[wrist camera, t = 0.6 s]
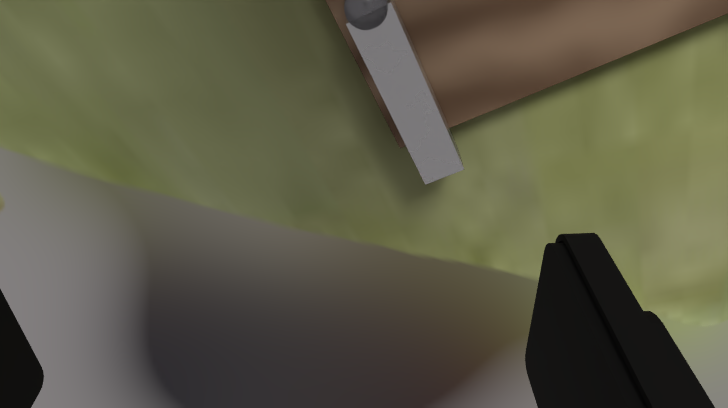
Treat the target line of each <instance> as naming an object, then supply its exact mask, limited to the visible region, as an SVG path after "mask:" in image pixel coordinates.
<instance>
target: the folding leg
mask: <svg viewBox="0 0 728 408" xmlns="http://www.w3.org/2000/svg"><path fill="white" fill-rule="evenodd" d="M344 11H345V16H346V26H347V28H348V30H349V32H350V34H351V36H352V38H353V40H354V42H355V44H356V46H357V48H358V50H359V52H360V54H361V56H362V58H363V60H364V62H365V64H366V66H367V68H368V70H369V72H370V74H371V76H372V78H373V80H374V82H375V84H376V86H377V88H378V90H379V92H380V94H381V96H382V98H383V100H384V102H385V104H386V106H387V108H388V110H389V112H390V114H391V116H392V118H393V120H394V122H395V124H396V126H397V129H398V131H399V133H400V135H401V137H402V139H403V141H404V143H405V145H406V147H407V149H408V151H409V153H410V155H411V157H412V159H413V161H414V163H415V165H416V167H417V169H418V171H419V173H420V175H421V177H422V179H423V181H424V183H425V185H426V184H428V183H431V182H433V181H436V180H438V179H441V178H444V177H446V176H449V175H451V174H454V173H456V172H459V171H461V170H464V167H463V163H462V160H461V157H460V153H459V150H458V147H457V145H456V142H455V140H454V138H453V136H452V133H451V131H450V129H449V126H448V124H447V122H446V119H445V117H444V115H443V113H442V110H441V108H440V106H439V103H438V101H437V99H436V96H435V94H434V92H433V90H432V87H431V85H430V83H429V80H428V78H427V76H426V73H425V71H424V69H423V66H422V64H421V62H420V60H419V57H418V55H417V53H416V50H415V48H414V46H413V43H412V41H411V39H410V37H409V34H408V32H407V30H406V27H405V25H404V23H403V20H402V18H401V16H400V14H399V11H398V9H397V7H396V4H395V2H394V0H345V3H344Z"/></svg>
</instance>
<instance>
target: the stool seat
mask: <svg viewBox="0 0 728 408" xmlns="http://www.w3.org/2000/svg"><path fill="white" fill-rule="evenodd" d="M326 2H327V4H328V6H329V8H330V10H331V12H332V14H333V16H334V18H335V20H336V22H337V24H338V26H339V28H340V30H341V32H342V34H343V36H344V38H345V40H346V42H347V44H348V46H349V48H350V50H351V52H352V54H353V56H354V58H355V60H356V62H357V64H358V66H359V68H360V70H361V72H362V74H363V76H364V78H365V80H366V82H367V84H368V86H369V88H370V90H371V92H372V94H373V96H374V98H375V100H376V102H377V104H378V106H379V108H380V110H381V112H382V113H383V115H384V117H385V119H386V121H387V123H388V125H389V127H390V129H391V131H392V133H393V135H394V137H395V139H396V141H397V143H398V145H399V147H400V148H402V147H405V146H406V145H405V143H404V141H403V139H402V137H401V135H400V133H399V131H398V129H397V126H396V124H395V122H394V120H393V118H392V116H391V114H390V112H389V110H388V108H387V106H386V104H385V102H384V100H383V98H382V96H381V94H380V92H379V90H378V88H377V86H376V84H375V82H374V80H373V78H372V76H371V74H370V72H369V70H368V68H367V66H366V64H365V62H364V60H363V58H362V56H361V54H360V52H359V50H358V48H357V46H356V44H355V42H354V40H353V38H352V36H351V34H350V32H349V30H348V28H347V26H346V16H345V11H344V3H345V0H326ZM394 2H395V4H396V7H397V9H398V11H399V14H400V16H401V18H402V20H403V23H404V25H405V27H406V30H407V32H408V34H409V37H410V39H411V41H412V43H413V46H414V48H415V50H416V53H417V55H418V57H419V60H420V62H421V64H422V66H423V69H424V71H425V73H426V76H427V78H428V80H429V83H430V85H431V87H432V90H433V92H434V94H435V96H436V99H437V101H438V103H439V106H440V108H441V110H442V113H443V115H444V117H445V119H446V122H447V124H448V126H449V128H451V127H453V126H456V125H458V124H460V123H463V122H465V121H468V120H470V119H473V118H475V117H477V116H480V115H482V114H485V113H487V112H490V111H492V110H494V109H497V108H499V107H502V106H504V105H507V104H509V103H511V102H514V101H516V100H519V99H521V98H524V97H526V96H528V95H531V94H533V93H536V92H538V91H541V90H543V89H545V88H548V87H550V86H553V85H555V84H558V83H560V82H562V81H565V80H567V79H570V78H572V77H574V76H577V75H579V74H582V73H584V72H587V71H589V70H591V69H594V68H596V67H599V66H601V65H604V64H606V63H608V62H611V61H613V60H616V59H618V58H621V57H623V56H625V55H628V54H630V53H633V52H635V51H638V50H640V49H642V48H645V47H647V46H650V45H652V44H655V43H657V42H659V41H662V40H664V39H667V38H669V37H671V36H674V35H676V34H679V33H681V32H684V31H686V30H688V29H691V28H693V27H696V26H698V25H701V24H703V23H705V22H708V21H710V20H713V19H715V18H718V17H720V16H722V15H725V14H727V13H728V0H394Z"/></svg>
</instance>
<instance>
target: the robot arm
mask: <svg viewBox="0 0 728 408" xmlns="http://www.w3.org/2000/svg"><path fill="white" fill-rule="evenodd" d="M525 361H526V370H527V374H528V377H529V380H530V384H531V387H532V390H533V393H534V396H535V400H536V403H537V406H538V408H715V407H714V405H713V404H712V402H711V401H710V399H709V397H708V396H707V394H706V392H705V391H704V389H703V388H702V386H701V384H700V383H699V381H698V379H697V378H696V376H695V375H694V373H693V371H692V370H691V368H690V366H689V365H688V363H687V362H686V360H685V358H684V357H683V355H682V354H681V352H680V350H679V349H678V347H677V345H676V344H675V342H674V341H673V339H672V337H671V336H670V334H669V333H668V331H667V329H666V328H665V326H664V325H663V323H662V322H661V320H660V319H659V318H658V317H657V315H655V314H654V313H652V312H651V311H643V310H642V308H641V307H640V305H639V303H638V302H637V300H636V298H635V297H634V295H633V293H632V291H631V290H630V288H629V286H628V285H627V283H626V281H625V280H624V278H623V276H622V275H621V273H620V271H619V270H618V268H617V266H616V264H615V263H614V261H613V259H612V258H611V256H610V254H609V253H608V251H607V249H606V248H605V246H604V244H603V243H602V241H601V239H600V238H599V236H598V235H597V234H595V233H579V234H560V235H558V237H557V239H556V242H555V243H548V244H547V245H546V247H545V250H544V255H543V261H542V266H541V272H540V277H539V283H538V288H537V294H536V299H535V304H534V310H533V315H532V320H531V326H530V332H529V337H528V342H527V348H526V354H525ZM43 378H44V375H43V370H42V367H41V365H40V363H39V361H38V359H37V358H36V356H35V354H34V352H33V350H32V348H31V346H30V344H29V342H28V340H27V339H26V337H25V335H24V333H23V331H22V329H21V327H20V325H19V324H18V322H17V320H16V318H15V316H14V314H13V312H12V310H11V309H10V307H9V305H8V303H7V301H6V299H5V297H4V295H3V293H2V291H1V289H0V408H31V407H32V405H33V403H34V401H35V399H36V397H37V396H38V394H39V392H40V390H41V388H42V385H43Z"/></svg>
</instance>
